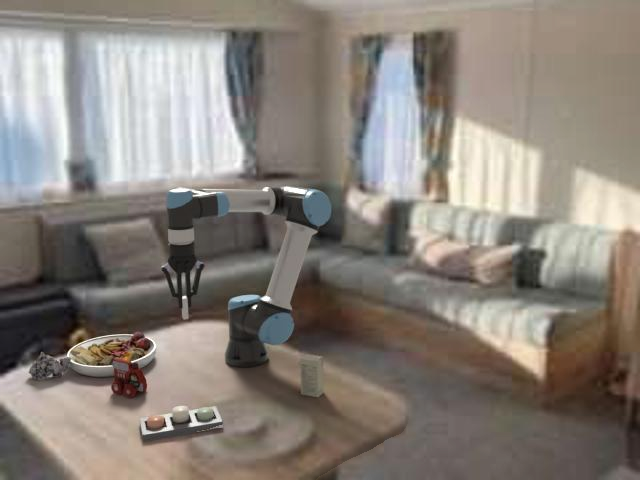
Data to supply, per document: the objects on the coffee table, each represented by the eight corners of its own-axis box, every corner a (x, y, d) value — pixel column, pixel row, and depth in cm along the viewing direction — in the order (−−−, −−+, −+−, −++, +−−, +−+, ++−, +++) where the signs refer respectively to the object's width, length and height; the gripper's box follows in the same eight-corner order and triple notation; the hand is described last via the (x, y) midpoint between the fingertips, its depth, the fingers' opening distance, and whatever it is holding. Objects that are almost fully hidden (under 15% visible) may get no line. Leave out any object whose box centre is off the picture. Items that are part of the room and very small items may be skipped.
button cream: (187, 413, 192) (187, 404, 192) (190, 420, 188) (189, 411, 187) (171, 416, 191) (171, 407, 190) (173, 423, 186) (173, 414, 186)
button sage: (211, 414, 195) (211, 406, 194) (214, 422, 191) (214, 413, 190) (196, 417, 193) (195, 408, 193) (198, 424, 189) (198, 415, 189)
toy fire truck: (137, 400, 206) (135, 369, 204) (107, 392, 211) (105, 362, 209) (152, 391, 212) (150, 361, 210) (123, 384, 217) (120, 354, 215)
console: (216, 412, 198) (215, 406, 198) (222, 427, 189) (222, 421, 188) (139, 424, 191) (139, 418, 190) (143, 441, 182) (142, 434, 181)
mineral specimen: (76, 362, 225) (56, 342, 222) (63, 382, 218) (41, 361, 214) (53, 373, 230) (32, 353, 227) (39, 392, 223) (18, 372, 219)
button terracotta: (163, 422, 190) (162, 413, 190) (165, 430, 186) (164, 421, 185) (146, 425, 189) (146, 416, 188) (148, 433, 185) (147, 424, 184)
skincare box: (324, 392, 211) (324, 356, 208) (318, 398, 207) (318, 361, 204) (306, 388, 213) (305, 353, 211) (299, 394, 210) (299, 358, 207)
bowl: (107, 388, 215) (106, 365, 213) (49, 368, 231) (47, 346, 229) (174, 357, 240) (173, 336, 238) (117, 341, 255) (116, 321, 254)
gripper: (201, 237, 202) (204, 311, 207) (157, 240, 197) (161, 316, 203) (205, 242, 195) (209, 319, 200) (160, 246, 190) (164, 324, 196)
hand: (185, 317), depth 201 cm, fingers closed
